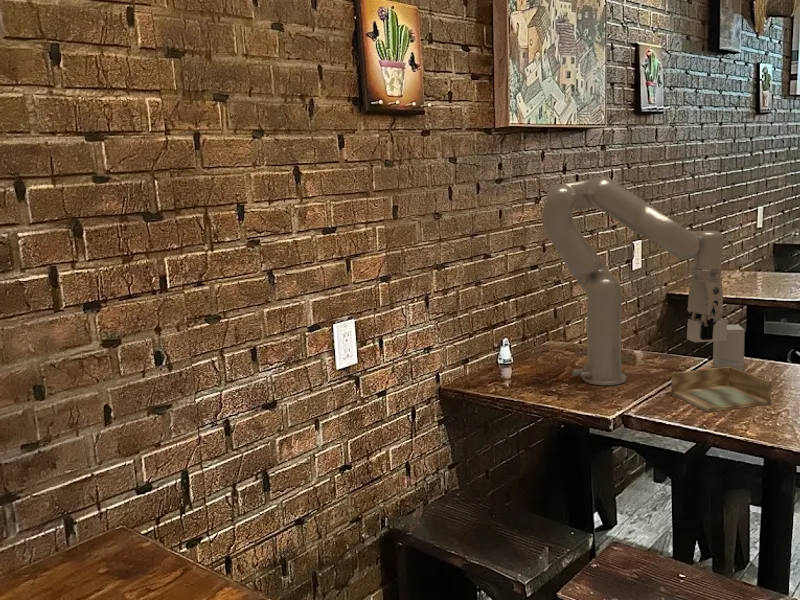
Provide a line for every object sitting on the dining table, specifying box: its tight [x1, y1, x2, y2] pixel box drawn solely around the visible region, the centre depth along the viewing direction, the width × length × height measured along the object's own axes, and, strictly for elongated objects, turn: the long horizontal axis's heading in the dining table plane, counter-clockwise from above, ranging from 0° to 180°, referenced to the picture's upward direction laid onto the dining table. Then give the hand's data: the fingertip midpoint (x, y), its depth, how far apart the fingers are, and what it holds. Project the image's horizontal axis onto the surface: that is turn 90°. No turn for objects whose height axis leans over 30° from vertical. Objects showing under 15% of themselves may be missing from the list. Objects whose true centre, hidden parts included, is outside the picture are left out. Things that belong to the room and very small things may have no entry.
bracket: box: [686, 315, 729, 343], centre depth 207 cm, size 10×8×6 cm
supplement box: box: [712, 324, 746, 371], centre depth 216 cm, size 7×7×13 cm
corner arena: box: [671, 366, 772, 413], centre depth 189 cm, size 18×16×6 cm
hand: (701, 337), depth 205 cm, fingers closed on bracket, 4 cm apart
